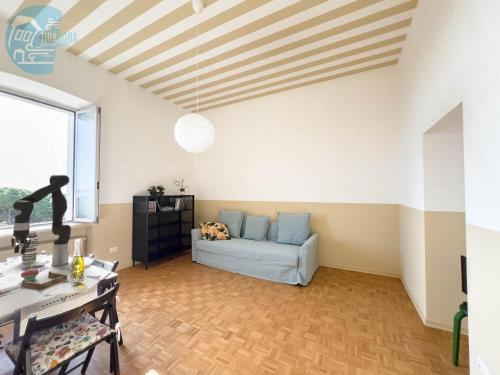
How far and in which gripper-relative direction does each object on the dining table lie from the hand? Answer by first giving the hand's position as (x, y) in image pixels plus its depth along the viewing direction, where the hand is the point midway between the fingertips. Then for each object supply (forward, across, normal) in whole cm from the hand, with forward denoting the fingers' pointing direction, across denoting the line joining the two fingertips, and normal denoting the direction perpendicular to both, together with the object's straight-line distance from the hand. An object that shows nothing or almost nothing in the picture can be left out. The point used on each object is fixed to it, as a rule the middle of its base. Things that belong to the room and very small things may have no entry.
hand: (19, 253), depth 143 cm
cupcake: (+18, -11, 0) cm, 21 cm away
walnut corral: (+17, -24, 0) cm, 30 cm away
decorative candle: (+18, +32, -27) cm, 45 cm away
